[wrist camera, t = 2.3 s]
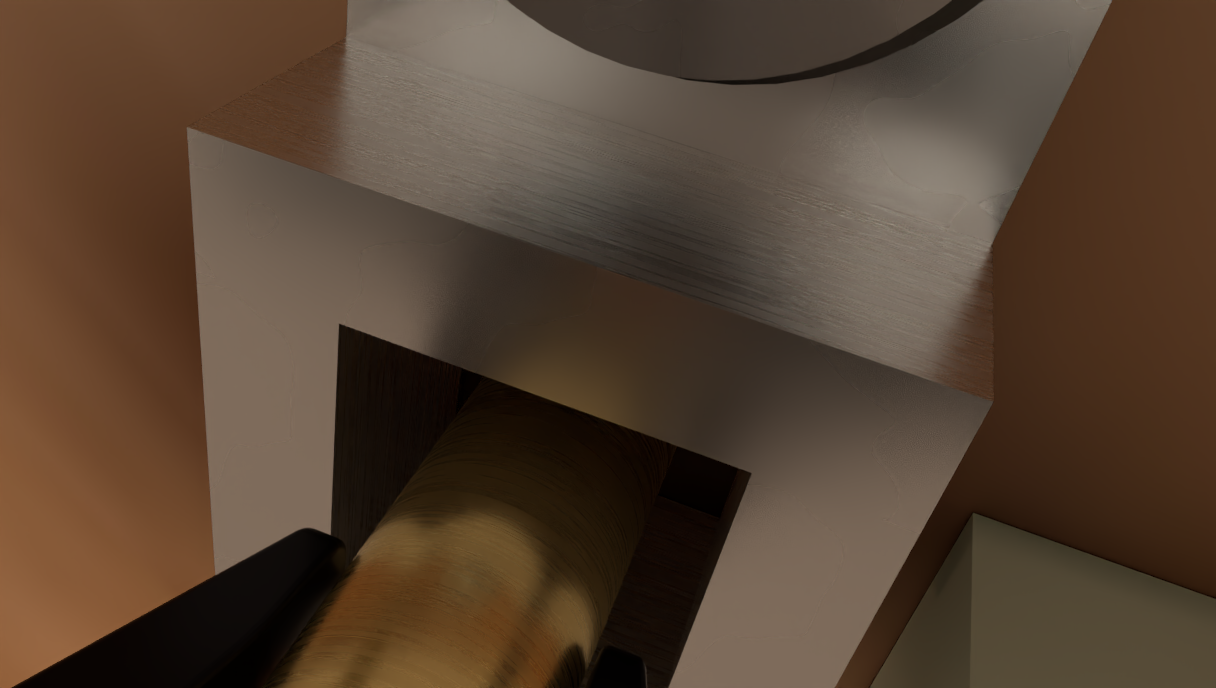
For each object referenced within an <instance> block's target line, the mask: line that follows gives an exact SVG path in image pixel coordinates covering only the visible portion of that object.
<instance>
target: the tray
mask: <svg viewBox="0 0 1216 688" xmlns="http://www.w3.org/2000/svg"><path fill="white" fill-rule="evenodd" d="M870 688H1216V599H1214V598H1211V597H1208V596H1205V595H1203V594H1200V593H1197V592H1194V591H1191V590H1189V589H1186V588H1183V587H1180V586H1177V585H1175V584H1172V583H1169V582H1166V581H1163V580H1161V579H1158V578H1155V577H1152V576H1149V575H1147V574H1144V573H1141V572H1138V571H1135V570H1133V569H1130V568H1127V567H1124V566H1121V565H1119V564H1116V563H1113V562H1110V561H1107V560H1104V559H1102V558H1099V557H1096V556H1093V555H1090V554H1088V553H1085V552H1082V551H1079V550H1076V549H1074V548H1071V547H1068V546H1065V545H1062V544H1060V543H1057V542H1054V541H1051V540H1048V539H1046V538H1043V537H1040V536H1037V535H1034V534H1032V533H1029V532H1026V531H1023V530H1020V529H1018V528H1015V527H1012V526H1009V525H1006V524H1004V523H1001V522H998V521H995V520H992V519H990V518H987V517H984V516H981V515H978V514H976V513H973V514H972V515H971V517H970V519H969V520H968V522H967V524H966V526H965V527H964V529H963V531H962V532H961V534H960V536H959V537H958V539H957V541H956V542H955V544H954V546H953V548H952V549H951V551H950V553H949V554H948V556H947V558H946V559H945V561H944V563H943V564H942V566H941V568H940V570H939V571H938V573H937V575H936V576H935V578H934V580H933V581H932V583H931V585H930V586H929V588H928V590H927V592H926V593H925V595H924V597H923V598H922V600H921V602H920V603H919V605H918V607H917V608H916V610H915V612H914V614H913V615H912V617H911V619H910V620H909V622H908V624H907V625H906V627H905V629H904V630H903V632H902V634H901V636H900V637H899V639H898V641H897V642H896V644H895V646H894V647H893V649H892V651H891V652H890V654H889V656H888V658H887V659H886V661H885V663H884V664H883V666H882V668H881V669H880V671H879V673H878V674H877V676H876V678H875V680H874V681H873V683H872V685H871V686H870Z"/></svg>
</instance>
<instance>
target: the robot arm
mask: <svg viewBox="0 0 1216 688" xmlns="http://www.w3.org/2000/svg"><path fill="white" fill-rule="evenodd" d="M345 566H346V546H345V544H344V542H343V541H342V540H341V539H339V538H337V537H334V536H332V535H329V534H327V533H324V532H321V531H319V530H316V529H314V528H302V529H299V530H297V531H295V532H293V533H291V534H289V535H288V536H286V537H284V538H282V539H280V540H279V541H277V542H275V543H273V544H271V545H269V546H268V547H266V548H264V549H262V550H260V551H259V552H257V553H255V554H253V555H251V556H250V557H248V558H246V559H244V560H242V561H240V562H239V563H237V564H235V565H233V566H231V567H230V568H228V569H226V570H224V571H222V572H220V573H219V574H217V575H215V576H213V577H211V578H210V579H208V580H206V581H204V582H202V583H201V584H199V585H197V586H195V587H193V588H191V589H190V590H188V591H186V592H184V593H182V594H181V595H179V596H177V597H175V598H173V599H171V600H170V601H168V602H166V603H164V604H162V605H161V606H159V607H157V608H155V609H153V610H152V611H150V612H148V613H146V614H144V615H142V616H141V617H139V618H137V619H135V620H133V621H132V622H130V623H128V624H126V625H124V626H122V627H121V628H119V629H117V630H115V631H113V632H112V633H110V634H108V635H106V636H104V637H103V638H101V639H99V640H97V641H95V642H93V643H92V644H90V645H88V646H86V647H84V648H83V649H81V650H79V651H77V652H75V653H73V654H72V655H70V656H68V657H66V658H64V659H63V660H61V661H59V662H57V663H55V664H53V665H52V666H50V667H48V668H46V669H44V670H43V671H41V672H39V673H37V674H35V675H34V676H32V677H30V678H28V679H26V680H24V681H23V682H21V683H19V684H17V685H15V686H14V687H12V688H261V687H262V686H263V684H264V683H265V681H266V680H267V679H268V677H269V676H270V674H271V673H272V672H273V670H274V669H275V667H276V666H277V665H278V663H279V662H280V661H281V659H282V658H283V656H284V655H285V654H286V652H287V651H288V649H289V648H290V647H291V645H292V644H293V642H294V641H295V640H296V638H297V637H298V635H299V634H300V633H301V631H302V630H303V628H304V627H305V626H306V624H307V623H308V621H309V620H310V619H311V617H312V616H313V614H314V613H315V612H316V610H317V609H318V608H319V606H320V605H321V603H322V602H323V601H324V599H325V598H326V596H327V595H328V594H329V592H330V591H331V589H332V588H333V587H334V585H335V584H336V582H337V581H338V580H339V578H340V577H341V575H342V574H343V573H344V571H345ZM585 688H647V674H646V666H645V663H644V661H643V659H642V658H641V657H639V656H636V655H634V654H631V653H629V652H626V651H624V650H621V649H619V648H616V647H613V646H610V645H608V646H604V647H603V648H602V649H601V651H600V652H599V655H598V657H597V659H596V662H595V664H594V667H593V669H592V671H591V674H590V676H589V679H588V681H587V683H586V686H585Z"/></svg>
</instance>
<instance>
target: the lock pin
mask: <svg viewBox="0 0 1216 688" xmlns="http://www.w3.org/2000/svg"><path fill="white" fill-rule="evenodd" d="M676 448H677V446H676V445H673V444H670V443H668V442H665V441H662V440H659V439H657V438H654V437H651V436H648V435H646V434H643V433H640V432H637V431H635V430H632V429H629V428H626V427H623V426H621V425H618V424H615V423H612V422H610V421H607V420H604V419H601V418H599V417H596V416H593V415H590V414H588V413H585V412H582V411H579V410H577V409H574V408H571V407H568V406H565V405H563V404H560V403H557V402H554V401H552V400H549V399H546V398H543V397H541V396H538V395H535V394H532V393H530V392H527V391H524V390H521V389H519V388H516V387H513V386H510V385H507V384H505V383H502V382H499V381H496V380H494V379H491V378H488V377H485V376H484V377H483V379H482V380H481V382H480V383H479V384H478V386H477V387H476V389H475V390H474V391H473V393H472V394H471V396H470V397H469V398H468V400H467V401H466V402H465V404H464V405H463V407H462V408H461V409H460V411H459V412H458V414H457V415H456V416H455V418H454V419H453V421H452V422H451V423H450V425H449V426H448V428H447V429H446V430H445V432H444V433H443V435H442V436H441V437H440V439H439V440H438V442H437V443H436V444H435V446H434V447H433V449H432V450H431V451H430V453H429V454H428V455H427V457H426V458H425V460H424V461H423V462H422V464H421V465H420V467H419V468H418V469H417V471H416V472H415V474H414V475H413V476H412V478H411V479H410V481H409V482H408V483H407V485H406V486H405V488H404V489H403V490H402V492H401V493H400V495H399V496H398V497H397V499H396V500H395V502H394V503H393V504H392V506H391V507H390V508H389V510H388V511H387V513H386V514H385V515H384V517H383V518H382V520H381V521H380V522H379V524H378V525H377V527H376V528H375V529H374V531H373V532H372V534H371V535H370V536H369V538H368V539H367V541H366V542H365V543H364V545H363V546H362V548H361V549H360V550H359V552H358V553H357V555H356V556H355V557H354V559H353V560H352V561H351V563H350V564H349V566H348V567H347V568H346V570H345V571H344V573H343V574H342V575H341V577H340V578H339V580H338V581H337V582H336V584H335V585H334V587H333V588H332V589H331V591H330V592H329V594H328V595H327V596H326V598H325V599H324V601H323V602H322V603H321V605H320V606H319V608H318V609H317V610H316V612H315V613H314V614H313V616H312V617H311V619H310V620H309V621H308V623H307V624H306V626H305V627H304V628H303V630H302V631H301V633H300V634H299V635H298V637H297V638H296V640H295V641H294V642H293V644H292V645H291V647H290V648H289V649H288V651H287V652H286V654H285V655H284V656H283V658H282V659H281V661H280V662H279V663H278V665H277V666H276V667H275V669H274V670H273V672H272V673H271V674H270V676H269V677H268V679H267V680H266V681H265V683H264V684H263V686H262V687H261V688H580V687H581V684H582V682H583V679H584V677H585V674H586V672H587V669H588V667H589V664H590V662H591V659H592V657H593V654H594V652H595V649H596V647H597V644H598V642H599V639H600V637H601V634H602V632H603V629H604V627H605V624H606V622H607V619H608V617H609V614H610V612H611V609H612V607H613V604H614V602H615V599H616V597H617V595H618V592H619V590H620V587H621V585H622V582H623V580H624V577H625V575H626V572H627V570H628V567H629V565H630V562H631V560H632V557H633V555H634V552H635V550H636V547H637V545H638V542H639V540H640V537H641V535H642V532H643V530H644V527H645V525H646V522H647V520H648V517H649V515H650V512H651V510H652V507H653V505H654V502H655V500H656V497H657V495H658V493H659V490H660V488H661V485H662V483H663V480H664V478H665V475H666V473H667V470H668V468H669V465H670V463H671V460H672V458H673V455H674V453H675V450H676Z"/></svg>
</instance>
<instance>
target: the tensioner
mask: <svg viewBox="0 0 1216 688" xmlns="http://www.w3.org/2000/svg"><path fill="white" fill-rule="evenodd" d="M1111 2H1112V0H348V8H347V35H346V37H345V38H343V39H342V40H340V41H338V42H336V43H335V44H333V45H331V46H329V47H327V48H326V49H324V50H322V51H320V52H319V53H317V54H315V55H313V56H312V57H310V58H308V59H306V60H304V61H303V62H301V63H299V64H297V65H296V66H294V67H292V68H290V69H289V70H287V71H285V72H283V73H281V74H280V75H278V76H276V77H274V78H273V79H271V80H269V81H267V82H266V83H264V84H262V85H260V86H258V87H257V88H255V89H253V90H251V91H250V92H248V93H246V94H244V95H243V96H241V97H239V98H237V99H236V100H234V101H232V102H230V103H228V104H227V105H225V106H223V107H221V108H220V109H218V110H216V111H214V112H213V113H211V114H209V115H207V116H205V117H204V118H202V119H200V120H198V121H197V122H195V123H193V124H191V125H190V126H188V127H187V138H188V153H189V169H190V185H191V201H192V217H193V232H194V248H195V264H196V279H197V295H198V311H199V327H200V342H201V358H202V374H203V390H204V405H205V421H206V437H207V453H208V468H209V484H210V500H211V516H212V531H213V547H214V563H215V575H217V574H219V573H220V572H222V571H224V570H226V569H228V568H230V567H231V566H233V565H235V564H237V563H239V562H240V561H242V560H244V559H246V558H248V557H250V556H251V555H253V554H255V553H257V552H259V551H260V550H262V549H264V548H266V547H268V546H269V545H271V544H273V543H275V542H277V541H279V540H280V539H282V538H284V537H286V536H288V535H289V534H291V533H293V532H295V531H297V530H299V529H302V528H314V529H316V530H319V531H321V532H324V533H327V534H329V535H332V536H334V537H337V538H339V539H341V540H342V541H343V542H344V544H345V546H346V566H345V570H346V568H347V567H348V566H349V564H350V563H351V561H352V560H353V559H354V557H355V556H356V555H357V553H358V552H359V550H360V549H361V548H362V546H363V545H364V543H365V542H366V541H367V539H368V538H369V536H370V535H371V534H372V532H373V531H374V529H375V528H376V527H377V525H378V524H379V522H380V521H381V520H382V518H383V517H384V515H385V514H386V513H387V511H388V510H389V508H390V507H391V506H392V504H393V503H394V502H395V500H396V499H397V497H398V496H399V495H400V493H401V492H402V490H403V489H404V488H405V486H406V485H407V483H408V482H409V481H410V479H411V478H412V476H413V475H414V474H415V472H416V471H417V469H418V468H419V467H420V465H421V464H422V462H423V461H424V460H425V458H426V457H427V455H428V454H429V453H430V451H431V450H432V449H433V447H434V446H435V444H436V443H437V442H438V440H439V439H440V437H441V436H442V435H443V433H444V432H445V430H446V429H447V428H448V426H449V425H450V423H451V422H452V421H453V419H454V418H455V416H456V409H457V401H458V394H459V387H460V379H461V372H462V368H463V369H466V370H469V371H472V372H474V373H477V374H480V375H483V376H485V377H488V378H491V379H494V380H496V381H499V382H502V383H505V384H507V385H510V386H513V387H516V388H519V389H521V390H524V391H527V392H530V393H532V394H535V395H538V396H541V397H543V398H546V399H549V400H552V401H554V402H557V403H560V404H563V405H565V406H568V407H571V408H574V409H577V410H579V411H582V412H585V413H588V414H590V415H593V416H596V417H599V418H601V419H604V420H607V421H610V422H612V423H615V424H618V425H621V426H623V427H626V428H629V429H632V430H635V431H637V432H640V433H643V434H646V435H648V436H651V437H654V438H657V439H659V440H662V441H665V442H668V443H670V444H673V445H676V446H679V447H681V448H684V449H687V450H690V451H692V452H695V453H698V454H701V455H704V456H706V457H709V458H712V459H715V460H717V461H720V462H723V463H726V464H728V465H731V466H734V467H737V468H738V471H737V474H736V476H735V479H734V482H733V484H732V487H731V490H730V492H729V495H728V498H727V500H726V503H725V506H724V508H723V511H722V514H721V516H720V518H718V517H715V516H712V515H710V514H707V513H704V512H702V511H699V510H696V509H694V508H691V507H688V506H685V505H683V504H680V503H677V502H675V501H672V500H669V499H666V498H664V497H661V496H658V495H657V497H656V500H655V502H654V505H653V507H652V510H651V512H650V515H649V517H648V520H647V522H646V525H645V527H644V530H643V532H642V535H641V537H640V540H639V542H638V545H637V547H636V550H635V552H634V555H633V557H632V560H631V562H630V565H629V567H628V570H627V572H626V575H625V577H624V580H623V582H622V585H621V587H620V590H619V592H618V595H617V597H616V599H615V602H614V604H613V607H612V609H611V612H610V614H609V617H608V619H607V622H606V624H605V627H604V629H603V632H602V634H601V637H600V639H599V642H598V644H597V647H596V649H595V652H594V654H593V657H592V659H591V662H590V664H589V667H588V669H587V672H586V674H585V677H584V679H583V682H582V684H581V687H580V688H585V686H586V683H587V681H588V679H589V676H590V674H591V671H592V669H593V667H594V664H595V662H596V659H597V657H598V655H599V652H600V651H601V649H602V648H603V647H604V646H608V645H610V646H613V647H616V648H619V649H621V650H624V651H626V652H629V653H631V654H634V655H636V656H639V657H641V658H642V659H643V661H644V663H645V666H646V674H647V688H835V686H836V685H837V683H838V681H839V679H840V677H841V676H842V674H843V672H844V670H845V668H846V667H847V665H848V663H849V661H850V659H851V658H852V656H853V654H854V652H855V650H856V649H857V647H858V645H859V643H860V641H861V640H862V638H863V636H864V634H865V632H866V631H867V629H868V627H869V625H870V623H871V622H872V620H873V618H874V616H875V614H876V613H877V611H878V609H879V607H880V605H881V604H882V602H883V600H884V598H885V596H886V595H887V593H888V591H889V589H890V587H891V586H892V584H893V582H894V580H895V578H896V577H897V575H898V573H899V571H900V569H901V568H902V566H903V564H904V562H905V560H906V559H907V557H908V555H909V553H910V551H911V550H912V548H913V546H914V544H915V542H916V541H917V539H918V537H919V535H920V533H921V532H922V530H923V528H924V526H925V524H926V523H927V521H928V519H929V517H930V515H931V514H932V512H933V510H934V508H935V506H936V505H937V503H938V501H939V499H940V497H941V496H942V494H943V492H944V490H945V488H946V487H947V485H948V483H949V481H950V479H951V478H952V476H953V474H954V472H955V470H956V469H957V467H958V465H959V463H960V461H961V460H962V458H963V456H964V454H965V452H966V451H967V449H968V447H969V445H970V443H971V442H972V440H973V438H974V436H975V434H976V433H977V431H978V429H979V427H980V425H981V424H982V422H983V420H984V418H985V416H986V415H987V413H988V411H989V409H990V407H991V406H992V404H993V402H994V384H993V241H994V239H995V237H996V235H997V233H998V231H999V229H1000V227H1001V225H1002V223H1003V221H1004V219H1005V217H1006V215H1007V213H1008V211H1009V209H1010V207H1011V204H1012V202H1013V200H1014V198H1015V196H1016V194H1017V192H1018V190H1019V188H1020V186H1021V184H1022V182H1023V180H1024V178H1025V176H1026V174H1027V172H1028V170H1029V168H1030V166H1031V164H1032V162H1033V160H1034V158H1035V156H1036V154H1037V152H1038V150H1039V148H1040V146H1041V144H1042V142H1043V140H1044V138H1045V136H1046V134H1047V132H1048V129H1049V127H1050V125H1051V123H1052V121H1053V119H1054V117H1055V115H1056V113H1057V111H1058V109H1059V107H1060V105H1061V103H1062V101H1063V99H1064V97H1065V95H1066V93H1067V91H1068V89H1069V87H1070V85H1071V83H1072V81H1073V79H1074V77H1075V75H1076V73H1077V71H1078V69H1079V67H1080V65H1081V63H1082V61H1083V59H1084V57H1085V54H1086V52H1087V50H1088V48H1089V46H1090V44H1091V42H1092V40H1093V38H1094V36H1095V34H1096V32H1097V30H1098V28H1099V26H1100V24H1101V22H1102V20H1103V18H1104V16H1105V14H1106V12H1107V10H1108V8H1109V6H1110V4H1111Z"/></svg>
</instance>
